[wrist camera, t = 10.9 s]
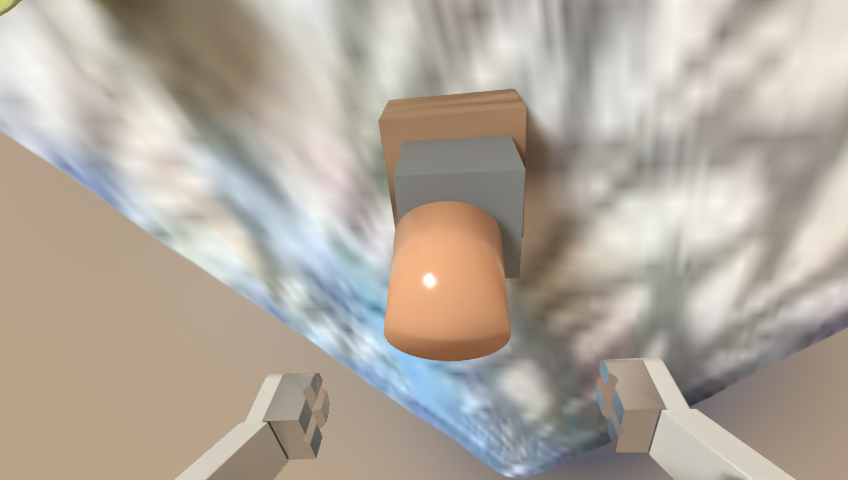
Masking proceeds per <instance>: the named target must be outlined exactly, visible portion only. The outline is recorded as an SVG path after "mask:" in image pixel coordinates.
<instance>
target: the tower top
mask: <svg viewBox="0 0 848 480" xmlns="http://www.w3.org/2000/svg"><path fill="white" fill-rule="evenodd" d="M525 172H526V170H525V167H524V165H523V162H522V160H521V158H520V155H519V153H518V151H517V148H516V146H515V143H514V141H513V139H512V136H511V135H510V136H492V137H474V138H456V139H438V140H419V141H403V143H402V146H401V150H400V153H399V157H398V160H397V163H396V167H395V170H394V174H393V183H394V191H395V200H396V208H397V216H398V223H399V221H400V220H401V219H402V217H403V216H404V215H406V214H407V213H408V212H410V211H411V210H413V209H415V208H417V207H419V206H422V205H425V204H429V203H433V202H441V201H453V202H461V203H466V204H470V205H473V206H476V207H478V208H480V209H482V210H484V211H486V212H487V213H489V214H490V215H491V216H492V217H493V218H494V219H495V220H496V222H497V223H498V225H499V227H500V231H501V240H502V250H503V260H504V270H505V278H519V273H520V256H521V239H522V222H523V206H524V189H525Z"/></svg>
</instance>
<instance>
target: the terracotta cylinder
mask: <svg viewBox="0 0 848 480" xmlns="http://www.w3.org/2000/svg"><path fill="white" fill-rule="evenodd" d="M384 335H385V338H386V339H387V341H388V342H389V343H390V344H391V345H392V346H394V347H395V348H397V349H398V350H400V351H402V352H404V353H407V354H409V355H412V356H416V357H419V358H424V359H430V360H438V361H462V360H470V359H476V358H480V357H484V356H487V355H489V354H492V353H494V352H496V351H498V350H500V349H501V348H503V347H504V346H505V345H506V344H507V342H508V341H509V339H510V335H511V331H510V321H509V311H508V301H507V290H506V280H505V270H504V260H503V250H502V240H501V231H500V227H499V225H498V223H497V222H496V220H495V219H494V218H493V217H492V216H491V215H490V214H489V213H487V212H486V211H484V210H482V209H480V208H478V207H476V206H473V205H470V204H466V203H461V202H453V201H441V202H433V203H429V204H425V205H422V206H419V207H417V208H415V209H413V210H411V211H410V212H408V213H407V214H406V215H404V216H403V217H402V219H401V220H400V221H399V223H398V224H397V227H396V229H395V236H394V245H393V254H392V263H391V272H390V281H389V289H388V298H387V307H386V316H385V325H384Z"/></svg>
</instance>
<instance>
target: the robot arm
mask: <svg viewBox="0 0 848 480" xmlns="http://www.w3.org/2000/svg"><path fill="white" fill-rule="evenodd" d="M599 371H600V374H601V377H600V378H599V379H598V380H597V386H596V390H597V399H598V403H599V407H600V410H601V413H602V415H603V416H605V417H606V418H607V419H608V420H609V421H608V427H607V430H608V433H609V436H610V438H611V441H612V444H613V447H614V449H615V452H629V453H631V452H632V453H633V452H634V453H638V452H639V453H649V455H650V456H651V457H652V458H653V459H654V460H655V461H656V462H657V463H658V464H659V465H660V466H661V467H662V468H663V469H664V470H665V471H666V472H667V473H668V474H669V475H670V476H671V477H672V478H673V479H674V480H796V479H794V478H793V477H791V476H790V475H789V474H787V473H786V472H784V471H783V470H781V469H780V468H779V467H777V466H776V465H774V464H773V463H772V462H770V461H769V460H767V459H766V458H765V457H763V456H762V455H760V454H759V453H758V452H756V451H755V450H753V449H752V448H750V447H749V446H748V445H746V444H745V443H743V442H742V441H741V440H739V439H738V438H736V437H735V436H734V435H732V434H731V433H729V432H728V431H727V430H725V429H724V428H722V427H721V426H720V425H718V424H717V423H715V422H714V421H712V420H711V419H710V418H708V417H706V416H705V415H704V414H702V413H701V412H700V411H698V410H697V409H690V408H689V406H688V404H687V402H686V401H685V399H684V397H683V395H682V394H681V392H680V390H679V388H678V387H677V385H676V383H675V381H674V380H673V378H672V376H671V374H670V373H669V371H668V369H667V367H666V366H665V364H664V362H663V360H661V359H660V358H659V357H655V358H639V359H638V358H628V359H610V360H601V362H600V364H599ZM321 384H322V378H321V376H320V374H319V373H295V374H294V373H288V374H269V375H268V376H267V377H266V379H265V380H264V382H263V385H262V387H261V389H260V391H259V393H258V396H257V397H256V400H255V402H254V404H253V406H252V408H251V411H250V413H249V415H248V417H247V419H246V421H245V423H239V424H238V425H237V426H236V427H235V428H234V429H232V430H231V431H230V432H229V433H228V434H227V435H226V436H224V437H223V438H222V439H221V440H220V441H219V442H217V443H216V444H215V445H214V446H213V447H212V448H211V449H210V450H208V451H207V452H206V453H205V454H204V455H203V456H201V457H200V458H199V459H198V460H197V461H196V462H194V463H193V464H192V465H191V466H190V467H189V468H188V469H186V470H185V471H184V472H183V473H182V474H181V475H179V476H178V477H177V478H176V479H175V480H273V479H274V478H275V477H276V476H277V475H278V473H279V472H280V471H281V470H282V469H283V467H284V466H285V465H286V464H287V463H288V460H292V459H314V458H316V457H317V454H318V450H319V447H320V443H321V440H322V435H321V432H320V430H319V429H320V428H321V427H322V426H323V425H324V424H325V423H326V422H327V418H328V414H329V398H328V394H327V391H326V390H325V389H324V388H322V387H321Z"/></svg>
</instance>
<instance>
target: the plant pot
mask: <svg viewBox="0 0 848 480" xmlns="http://www.w3.org/2000/svg"><path fill="white" fill-rule="evenodd" d="M20 1H21V0H0V16H1V15H3V14H5V13H6V12H8V11H10V10H11V9H12V8H14V7H15V6H16V5H17V4H18V3H19V2H20Z"/></svg>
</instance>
